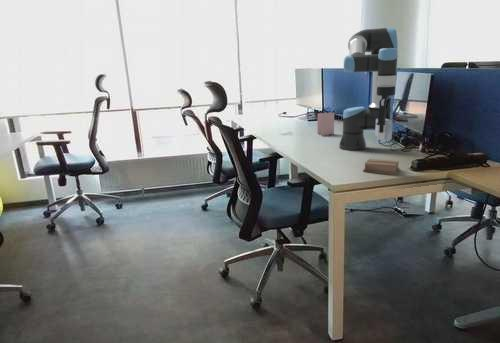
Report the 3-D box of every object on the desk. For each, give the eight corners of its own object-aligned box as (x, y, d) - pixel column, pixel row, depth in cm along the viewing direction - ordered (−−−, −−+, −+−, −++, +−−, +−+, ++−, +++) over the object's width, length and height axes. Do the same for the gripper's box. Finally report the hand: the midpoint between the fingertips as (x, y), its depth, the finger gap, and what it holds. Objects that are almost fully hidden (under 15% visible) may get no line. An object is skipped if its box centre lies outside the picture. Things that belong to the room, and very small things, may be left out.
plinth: (368, 166, 178) (368, 158, 177) (399, 169, 171) (399, 160, 170) (363, 171, 170) (363, 163, 169) (396, 174, 163) (396, 166, 162)
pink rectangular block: (333, 134, 264) (334, 112, 260) (335, 135, 257) (335, 114, 253) (317, 134, 265) (317, 113, 261) (318, 136, 258) (318, 114, 254)
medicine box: (391, 140, 163) (393, 120, 161) (381, 140, 163) (383, 120, 160) (384, 137, 171) (385, 118, 168) (374, 137, 170) (375, 118, 168)
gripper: (381, 84, 171) (379, 133, 177) (372, 87, 153) (369, 141, 159) (399, 84, 168) (395, 134, 174) (391, 87, 150) (387, 142, 156)
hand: (383, 137), depth 166 cm, fingers closed on medicine box, 9 cm apart
